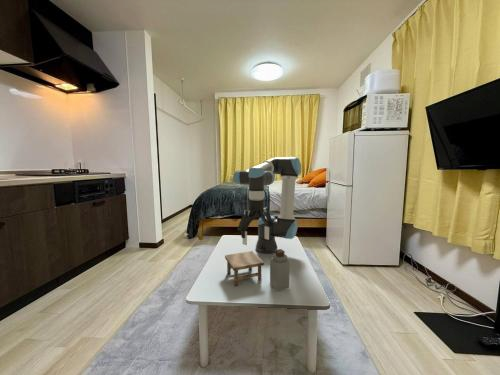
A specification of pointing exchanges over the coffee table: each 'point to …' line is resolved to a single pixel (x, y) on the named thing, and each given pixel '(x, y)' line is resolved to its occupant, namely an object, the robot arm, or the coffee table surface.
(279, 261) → the perfume bottle
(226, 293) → the coffee table surface
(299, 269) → the coffee table surface
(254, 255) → the stool
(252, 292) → the coffee table surface
